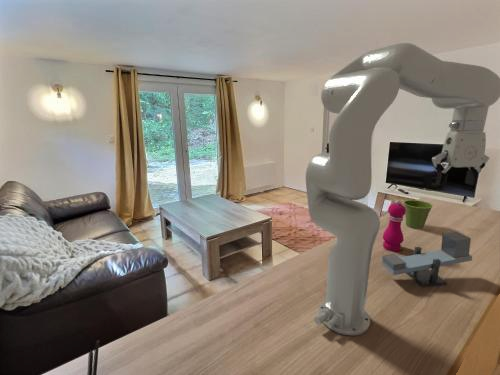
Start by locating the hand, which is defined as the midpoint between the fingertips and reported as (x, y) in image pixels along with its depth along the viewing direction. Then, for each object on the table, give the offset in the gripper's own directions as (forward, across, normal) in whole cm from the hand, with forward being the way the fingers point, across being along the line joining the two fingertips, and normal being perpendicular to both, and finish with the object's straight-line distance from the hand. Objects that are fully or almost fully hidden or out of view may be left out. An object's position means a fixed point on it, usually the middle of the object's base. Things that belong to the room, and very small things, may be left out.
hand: (455, 184), depth 80 cm
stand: (+31, -6, -1) cm, 31 cm away
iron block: (+22, +4, -1) cm, 23 cm away
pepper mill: (+31, -4, +19) cm, 36 cm away
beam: (+24, -6, -1) cm, 25 cm away
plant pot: (+30, +20, +38) cm, 52 cm away
